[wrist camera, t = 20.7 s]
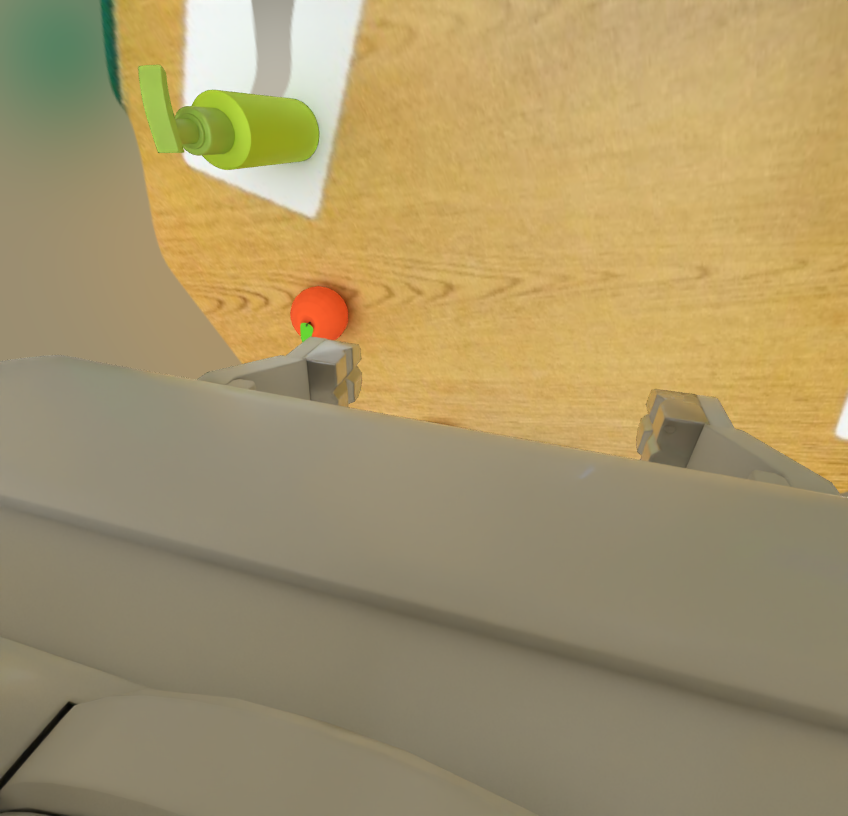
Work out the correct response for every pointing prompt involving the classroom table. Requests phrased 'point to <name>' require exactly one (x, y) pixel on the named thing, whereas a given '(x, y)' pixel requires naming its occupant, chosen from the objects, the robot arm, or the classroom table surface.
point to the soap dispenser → (229, 125)
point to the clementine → (319, 314)
